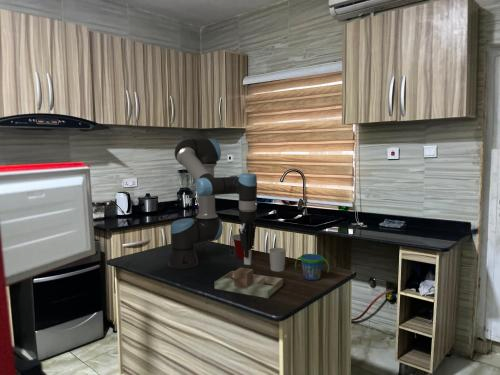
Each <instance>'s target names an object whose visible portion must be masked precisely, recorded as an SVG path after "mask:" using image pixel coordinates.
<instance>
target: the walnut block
mask: <svg viewBox="0 0 500 375" xmlns="http://www.w3.org/2000/svg"><path fill="white" fill-rule="evenodd" d="M233 271H234V278H233V279H234V286H239V287H245V288H248V287H249V286H250V285H251V284H253V274H254V269H253V268H246V267H238V268H237V269H236V270H233Z"/></svg>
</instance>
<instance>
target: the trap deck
mask: <svg viewBox="0 0 500 375" xmlns="http://www.w3.org/2000/svg"><path fill="white" fill-rule="evenodd" d="M234 271H235V270H231V271H229V272H228V273H226V274H225V275H223V276H222V277H219V278H218V279H217V280H214V289H215V290H220V291H226V292H231V293H237V294H243V295H248V296H253V297H260V298H264V299H270V297H271V296H273V295H274V294H275V293H276V292H277V291H278V290H279V289H280V288H281V287H282V286H283V285H284V284H283V280H284V279H283V278H281V277H275V276H268V275H262V274H256V273H255V274H254V273H253V284H251V285H250V286H249V287H248V288H245V287H239V286H234Z"/></svg>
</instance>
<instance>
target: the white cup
mask: <svg viewBox="0 0 500 375" xmlns="http://www.w3.org/2000/svg"><path fill="white" fill-rule="evenodd" d="M268 251H269V264H270V266H269V267H270V271H272V272H275V273H276V272H283V271H285V266H286V263H285V262H286V249H285V248H283V247H272V248H270V249H269V250H268Z"/></svg>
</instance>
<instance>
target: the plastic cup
mask: <svg viewBox="0 0 500 375" xmlns="http://www.w3.org/2000/svg"><path fill="white" fill-rule="evenodd" d="M232 239H233V243H234V244H233V245H234V249H235V254H236V259H239V260H244V250H242V249H241V241H240V234H239V233H238V234H234V235H232Z"/></svg>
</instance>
